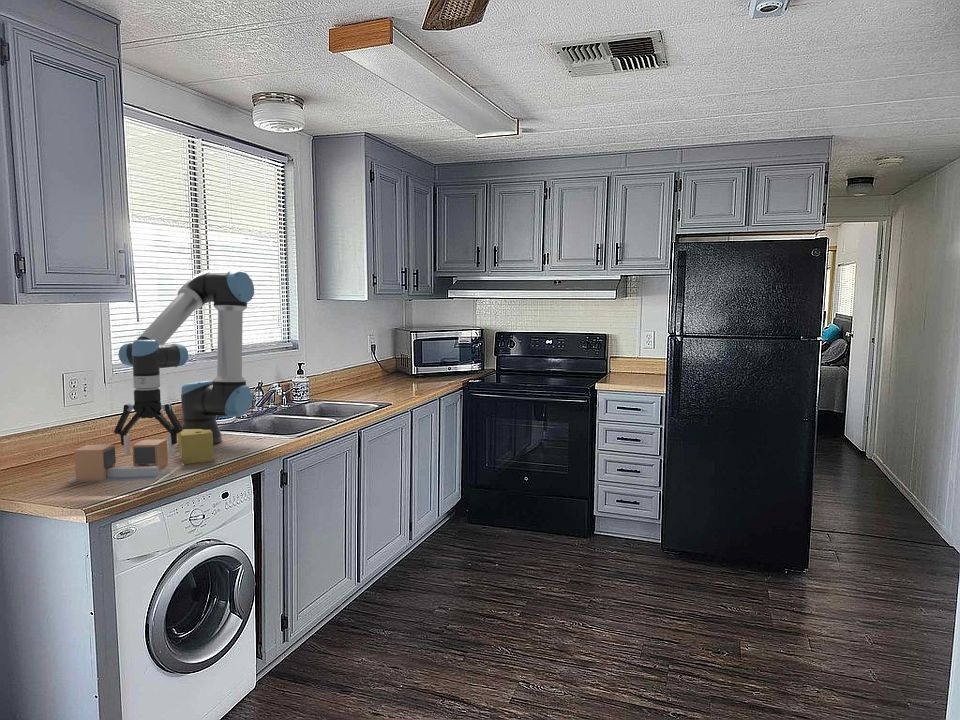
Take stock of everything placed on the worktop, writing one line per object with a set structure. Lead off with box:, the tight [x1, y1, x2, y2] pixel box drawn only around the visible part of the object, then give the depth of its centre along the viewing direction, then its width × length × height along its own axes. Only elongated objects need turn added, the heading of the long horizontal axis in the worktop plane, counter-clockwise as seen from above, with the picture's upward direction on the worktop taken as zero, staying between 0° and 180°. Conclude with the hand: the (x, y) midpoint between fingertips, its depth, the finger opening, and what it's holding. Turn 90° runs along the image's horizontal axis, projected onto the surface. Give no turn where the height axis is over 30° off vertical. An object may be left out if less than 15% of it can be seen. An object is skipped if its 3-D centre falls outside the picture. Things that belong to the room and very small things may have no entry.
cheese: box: [177, 429, 215, 465], centre depth 229 cm, size 10×11×10 cm
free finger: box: [132, 438, 169, 470], centre depth 216 cm, size 7×9×9 cm
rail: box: [66, 465, 167, 484], centre depth 206 cm, size 10×25×4 cm, turn 94°
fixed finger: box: [73, 443, 117, 480], centre depth 205 cm, size 7×9×9 cm
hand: (149, 455), depth 216 cm, fingers open, 13 cm apart
